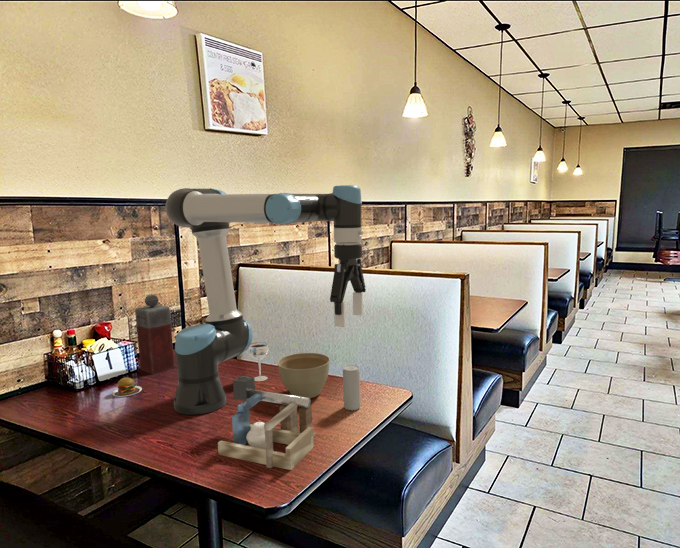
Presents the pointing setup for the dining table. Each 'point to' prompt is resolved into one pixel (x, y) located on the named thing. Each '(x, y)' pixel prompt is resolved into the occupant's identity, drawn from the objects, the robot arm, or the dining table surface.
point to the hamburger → (126, 387)
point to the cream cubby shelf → (304, 419)
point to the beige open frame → (296, 441)
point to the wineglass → (259, 355)
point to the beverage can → (351, 387)
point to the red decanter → (154, 336)
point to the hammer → (247, 392)
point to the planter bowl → (304, 373)
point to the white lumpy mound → (257, 435)
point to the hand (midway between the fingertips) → (349, 320)
